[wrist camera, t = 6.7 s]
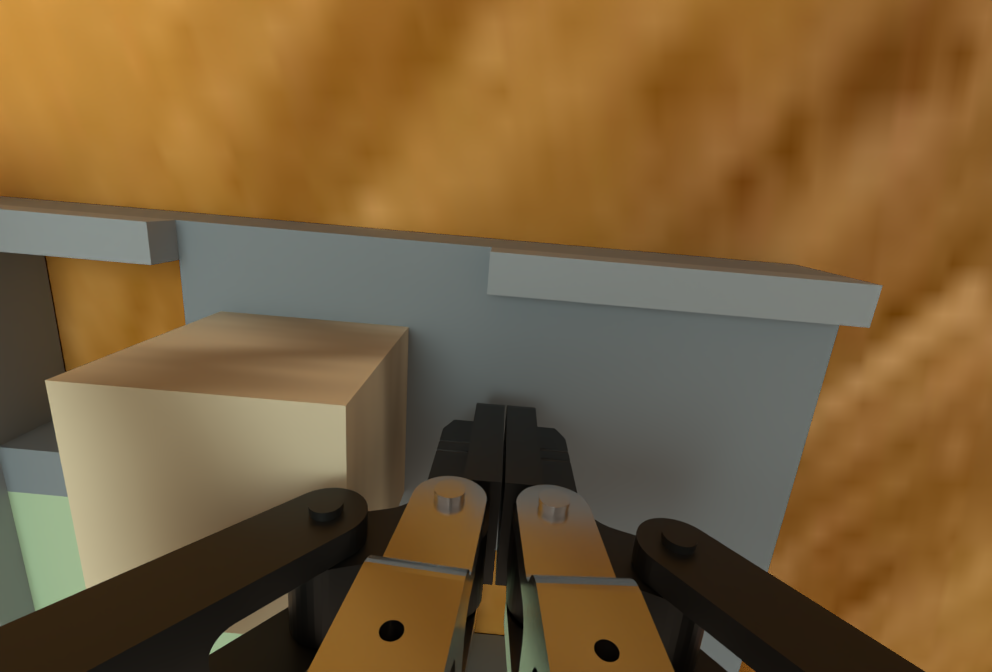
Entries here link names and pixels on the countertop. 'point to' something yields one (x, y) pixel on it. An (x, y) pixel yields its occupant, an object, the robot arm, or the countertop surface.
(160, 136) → the countertop surface
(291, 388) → the maple block
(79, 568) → the box
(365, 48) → the countertop surface
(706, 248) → the countertop surface
